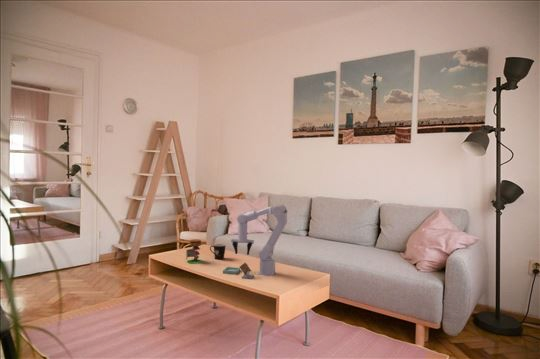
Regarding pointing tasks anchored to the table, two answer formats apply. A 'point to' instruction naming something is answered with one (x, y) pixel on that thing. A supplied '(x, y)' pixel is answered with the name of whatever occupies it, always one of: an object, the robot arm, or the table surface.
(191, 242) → the toy tree house
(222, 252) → the coffee mug
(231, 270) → the tray
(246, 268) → the walnut ring block
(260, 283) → the table surface
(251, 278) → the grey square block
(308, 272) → the table surface
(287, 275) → the table surface
